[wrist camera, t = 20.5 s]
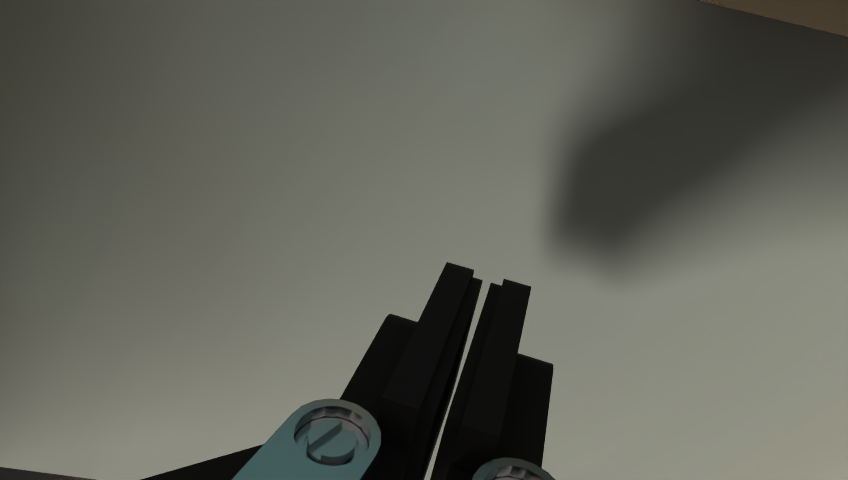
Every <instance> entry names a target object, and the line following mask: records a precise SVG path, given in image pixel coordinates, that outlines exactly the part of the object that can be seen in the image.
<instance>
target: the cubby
mask: <svg viewBox="0 0 848 480" xmlns="http://www.w3.org/2000/svg"><path fill="white" fill-rule="evenodd" d="M698 1H702V2H706V3H710V4H714V5H718V6H723V7H727V8H731V9H735V10H739V11H743V12H747V13H751V14H756V15H760V16H764V17H768V18H772V19H776V20H780V21H784V22H789V23H793V24H797V25H801V26H805V27H809V28H813V29H817V30H822V31H826V32H830V33H834V34H838V35H842V36H846V37H848V0H698Z"/></svg>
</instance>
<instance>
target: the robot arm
mask: <svg viewBox="0 0 848 480" xmlns="http://www.w3.org/2000/svg"><path fill="white" fill-rule="evenodd" d="M473 273H474V270H472V269H469V268H465V267H462V266H459V265H455V264H452V263H448V262H447V263H446V265H445V267H444V269H443V271H442V273H441V275H440V277H439V279H438V282H437V284H436V286H435V288H434V290H433V292H432V294H431V296H430V298H429V300H428V302H427V304H426V307H425V309H424V311H423V313H422V315H421V317H420V319H419V321H418V322H415V321H412V320H409V319H406V318H402V317H399V316H396V315H393V314H389V315H388V316H387V317H386V319H385V320H384V322H383V324H382V326H381V327H380V329H379V331H378V333H377V334H376V336H375V338H374V340H373V341H372V343H371V345H370V347H369V348H368V350H367V352H366V354H365V355H364V357H363V359H362V361H361V362H360V364H359V366H358V368H357V370H356V371H355V373H354V375H353V377H352V378H351V380H350V382H349V384H348V385H347V387H346V389H345V391H344V392H343V394H342V396H341V398H340V399H323V400H316V401H313V402H310V403H308V404H305V405H303V406H301V407H300V408H299V409H297V410H296V411H295V412H294V413H292V414H291V415H290V416H289V418H288V419H287V420H286V421H285V422H284V423H283V424H282V425H281V426H280V427H279V428H278V430H277V431H276V432H275V433H274V434H273V435H272V436H271V437H270V438H269V439H268V440H267V442H266V443H265V444H263V445H259V446H256V447H252V448H249V449H245V450H242V451H239V452H235V453H232V454H228V455H225V456H221V457H218V458H214V459H211V460H207V461H204V462H200V463H197V464H193V465H190V466H187V467H183V468H180V469H176V470H173V471H169V472H166V473H162V474H159V475H155V476H152V477H148V478H145V479H141V480H424V478H425V475H426V472H427V469H428V466H429V463H430V460H431V457H432V454H433V451H434V448H435V445H436V442H437V439H438V436H439V433H440V429H441V426H442V423H443V420H444V417H445V414H446V411H447V408H448V405H449V402H450V399H451V396H452V393H453V389H454V386H455V382H456V378H457V375H458V371H459V367H460V363H461V360H462V356H463V352H464V348H465V345H466V341H467V337H468V333H469V330H470V326H471V322H472V318H473V315H474V311H475V307H476V304H477V300H478V296H479V292H480V289H481V285H482V280H480V279H477V278H473ZM530 291H531V287H530V286H527V285H524V284H520V283H517V282H513V281H510V280H506V279H504V280H503V284H502V286H500V285H497V284H494V283H491V284H490V288H489V291H488V294H487V297H486V300H485V303H484V306H483V309H482V312H481V315H480V318H479V321H478V324H477V327H476V330H475V333H474V337H473V340H472V343H471V346H470V349H469V352H468V355H467V358H466V361H465V364H464V367H463V370H462V373H461V376H460V379H459V382H458V385H457V389H456V392H455V395H454V398H453V401H452V404H451V407H450V410H449V413H448V417H447V420H446V424H445V427H444V431H443V434H442V438H441V442H440V445H439V449H438V453H437V457H436V460H435V464H434V468H433V471H432V475H431V479H430V480H555V479H554V478H553V477H552V476H551V475H550V474H549V473H548V472H546V471H545V470H543V469H542V468H541V467H542V459H543V451H544V442H545V434H546V426H547V418H548V409H549V401H550V393H551V384H552V376H553V364H551V363H548V362H544V361H541V360H538V359H535V358H531V357H528V356H525V355H522V354H519V353H518V348H519V343H520V339H521V334H522V329H523V324H524V319H525V315H526V310H527V305H528V300H529V296H530ZM0 480H94V479H87V478H79V477H72V476H64V475H57V474H49V473H41V472H34V471H26V470H19V469H11V468H3V467H0Z"/></svg>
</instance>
